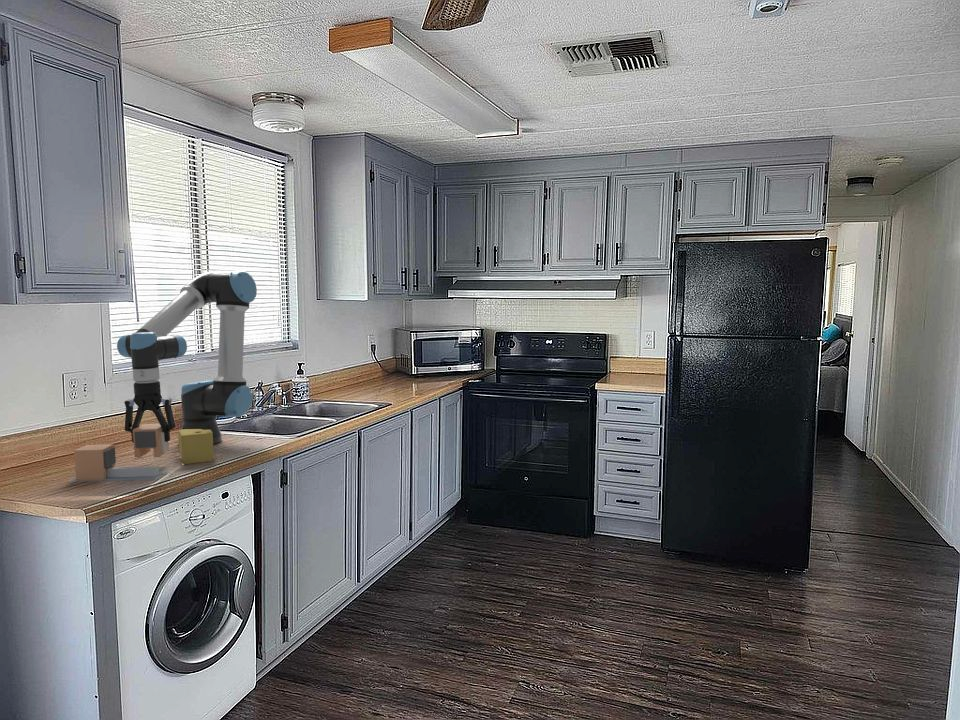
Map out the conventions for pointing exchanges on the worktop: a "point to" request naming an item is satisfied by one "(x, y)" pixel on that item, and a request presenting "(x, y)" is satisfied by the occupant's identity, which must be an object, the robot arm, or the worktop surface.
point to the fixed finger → (94, 461)
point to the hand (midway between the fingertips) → (152, 451)
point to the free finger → (148, 440)
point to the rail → (130, 473)
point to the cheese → (196, 445)
